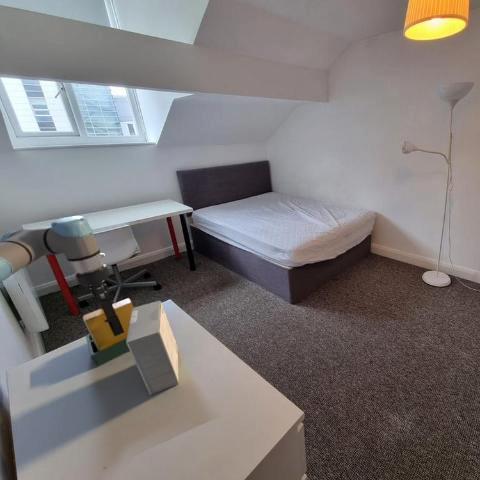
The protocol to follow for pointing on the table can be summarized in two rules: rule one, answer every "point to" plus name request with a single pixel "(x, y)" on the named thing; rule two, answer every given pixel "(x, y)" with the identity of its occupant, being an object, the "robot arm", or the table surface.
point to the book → (102, 330)
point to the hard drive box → (153, 347)
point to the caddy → (106, 351)
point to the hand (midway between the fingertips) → (117, 328)
